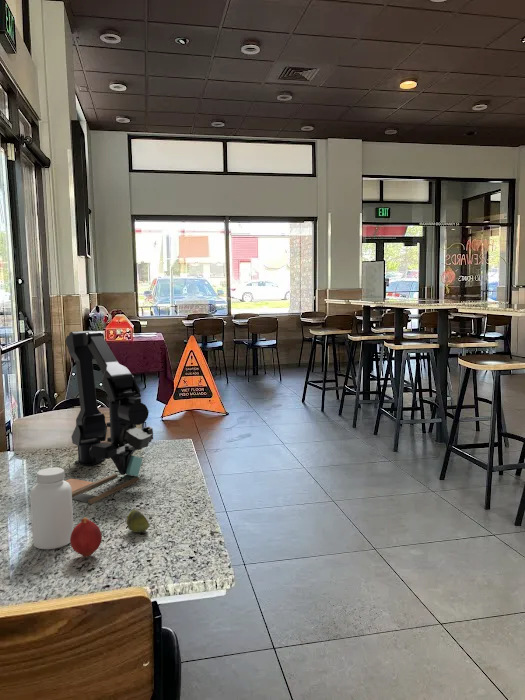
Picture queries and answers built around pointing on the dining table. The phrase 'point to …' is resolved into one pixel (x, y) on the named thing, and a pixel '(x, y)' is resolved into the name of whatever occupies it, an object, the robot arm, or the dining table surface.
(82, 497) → the chute
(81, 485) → the tile
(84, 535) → the onion
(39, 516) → the pill bottle
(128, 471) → the block
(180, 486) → the dining table surface
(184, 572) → the dining table surface
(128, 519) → the lime
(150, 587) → the dining table surface
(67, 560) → the dining table surface
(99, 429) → the robot arm
